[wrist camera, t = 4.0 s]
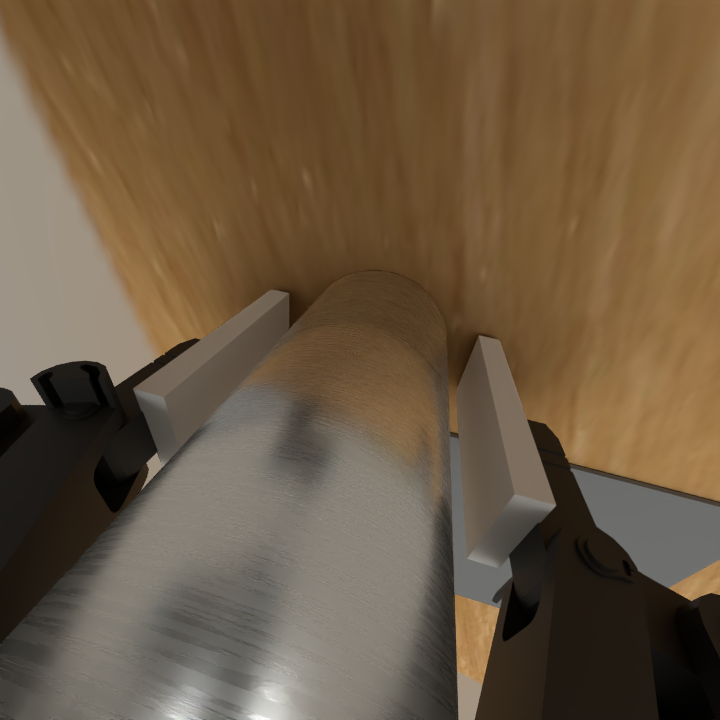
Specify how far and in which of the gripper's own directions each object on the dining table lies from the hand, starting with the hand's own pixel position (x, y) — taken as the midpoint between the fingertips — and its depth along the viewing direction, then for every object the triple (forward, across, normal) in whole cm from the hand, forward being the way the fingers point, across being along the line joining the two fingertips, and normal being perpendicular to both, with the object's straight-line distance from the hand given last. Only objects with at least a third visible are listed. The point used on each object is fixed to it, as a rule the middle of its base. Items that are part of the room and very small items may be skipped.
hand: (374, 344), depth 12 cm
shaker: (0, 0, 0) cm, 0 cm away
